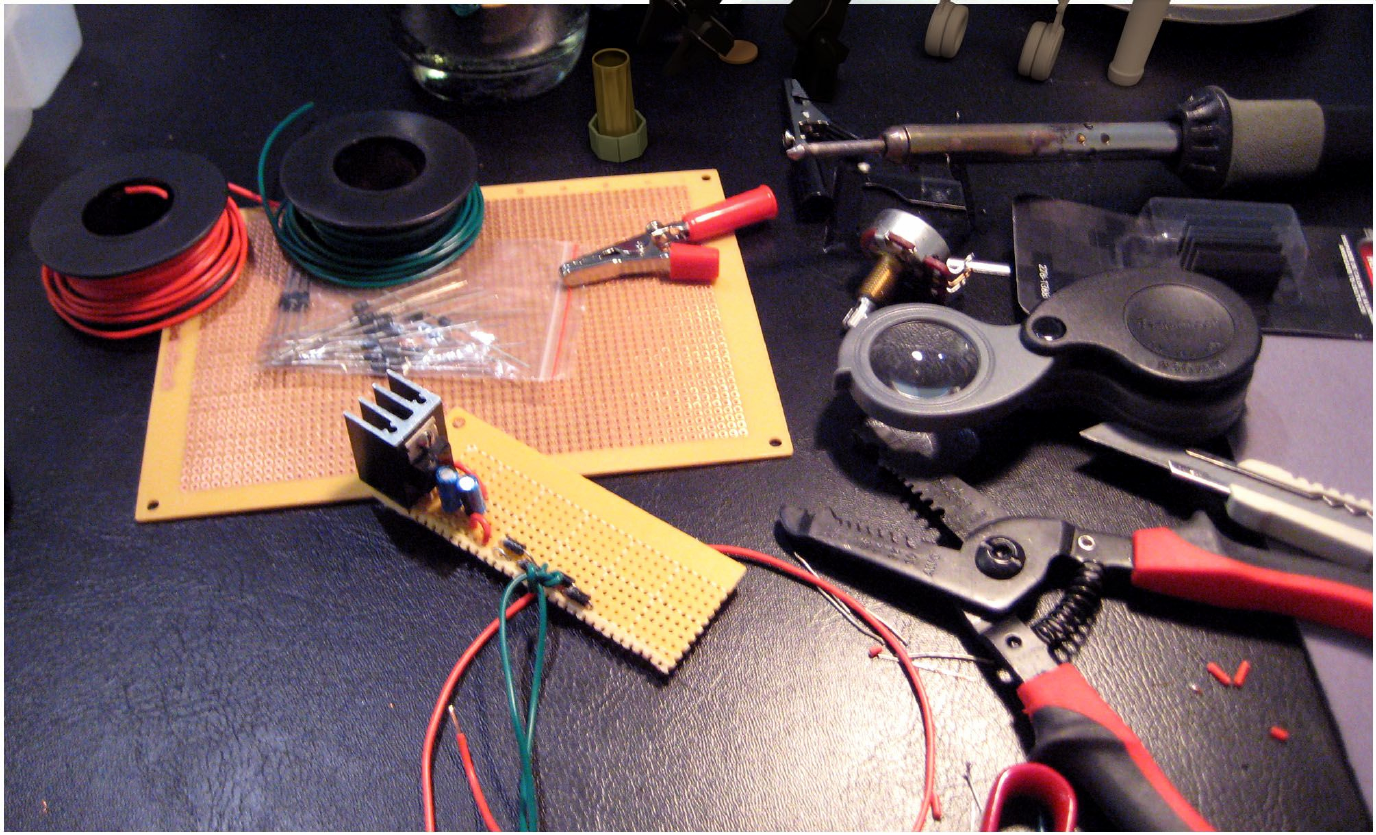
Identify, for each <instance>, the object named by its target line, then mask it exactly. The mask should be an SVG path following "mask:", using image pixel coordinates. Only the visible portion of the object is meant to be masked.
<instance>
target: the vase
mask: <svg viewBox="0 0 1376 835" xmlns="http://www.w3.org/2000/svg"><path fill="white" fill-rule="evenodd" d="M591 64H592V65H591V66H592V74H593V83H594V92H595V104H596V106H595V107H596V113H597V117H598V127H599V135H605V136H611V137H616V138H618V137H622V136H625V135H628V134H632V133H635V132H636V131H637V125H636V117H635V102H634V92H633V84H632V81H633V80H632V71H631V58H630V55H629V53H628V52H627V51H626V50H623V49H621V48H616V47H613V48H612V47H608V48H604V49H601V50H599V51H597V52H595V53H594V54H593V56H592V58H591Z"/></svg>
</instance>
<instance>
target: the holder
mask: <svg viewBox="0 0 1376 835" xmlns="http://www.w3.org/2000/svg"><path fill="white" fill-rule="evenodd" d="M634 109H635V108H634ZM635 117H636V125H637V131H636V132H635V133H632V134H628V135H625V136H622V137H618V138H616V137H611V136H605V135H599V127H598V117H597V112H595V114H594V115H593V117H592V118H591V120H590V121H589V122H588V125H587V126H588V134H589V139H590V140H589V141H590V148H591V149H592V151H593V152H594V154H595V155H596V156H597V158H598V159H600V160H602V161H607V162H613V163H624V162H627V161H630V160H634V159H638V158H640V156H642V155H643V153H644V152H645V150H646V148H647V146H648V142H649V141H648V129H647V121H646V120H647V119H646V118H645V117H644V116H643V115H642V114H641V112H640V111H639V110H638V109H635Z"/></svg>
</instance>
